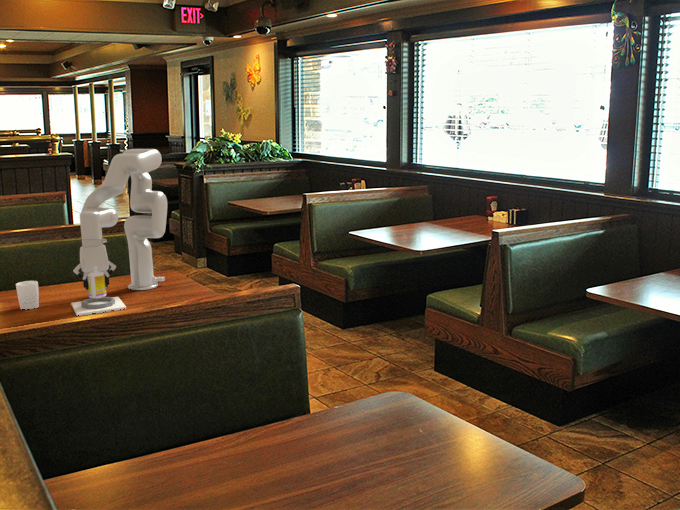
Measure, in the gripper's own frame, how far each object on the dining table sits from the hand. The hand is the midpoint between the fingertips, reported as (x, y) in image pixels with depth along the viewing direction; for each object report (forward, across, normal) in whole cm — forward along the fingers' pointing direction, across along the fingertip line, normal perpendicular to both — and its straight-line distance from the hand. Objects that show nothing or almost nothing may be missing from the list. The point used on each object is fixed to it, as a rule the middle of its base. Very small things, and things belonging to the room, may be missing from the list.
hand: (96, 287), depth 259 cm
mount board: (+8, 0, 0) cm, 8 cm away
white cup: (+8, +24, -14) cm, 29 cm away
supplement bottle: (+4, 0, 0) cm, 4 cm away
